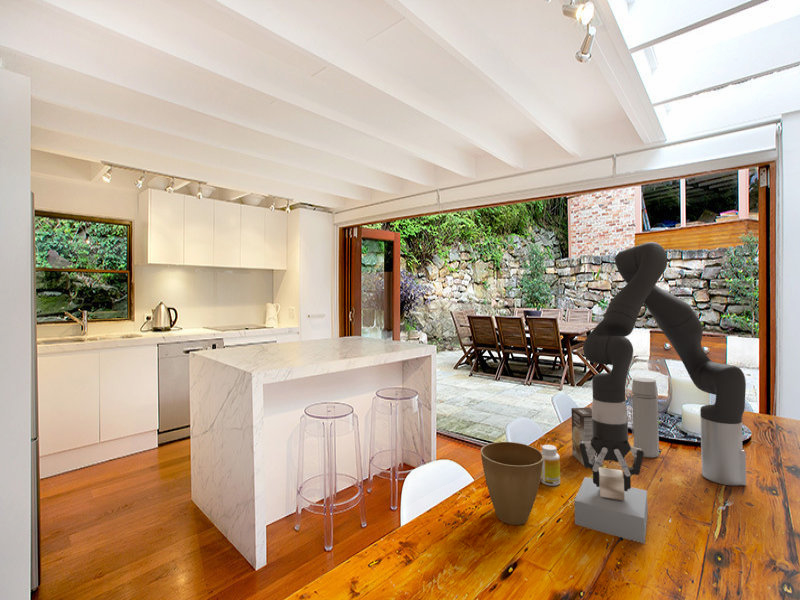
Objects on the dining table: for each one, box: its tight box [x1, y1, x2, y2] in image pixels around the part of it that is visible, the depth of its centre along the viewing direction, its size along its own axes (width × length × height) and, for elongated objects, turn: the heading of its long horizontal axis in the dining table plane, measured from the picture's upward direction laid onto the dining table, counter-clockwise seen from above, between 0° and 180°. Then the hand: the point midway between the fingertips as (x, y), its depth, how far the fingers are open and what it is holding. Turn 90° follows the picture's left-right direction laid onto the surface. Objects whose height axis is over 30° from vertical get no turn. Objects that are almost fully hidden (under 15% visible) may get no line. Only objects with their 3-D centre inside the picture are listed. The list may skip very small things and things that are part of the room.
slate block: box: [574, 476, 649, 545], centre depth 94 cm, size 14×14×6 cm
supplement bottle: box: [540, 444, 561, 487], centre depth 113 cm, size 6×6×10 cm
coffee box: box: [570, 407, 604, 467], centre depth 126 cm, size 9×6×16 cm
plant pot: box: [480, 441, 544, 526], centre depth 96 cm, size 15×15×16 cm
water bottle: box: [627, 377, 660, 459], centre depth 130 cm, size 9×8×25 cm
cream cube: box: [599, 466, 625, 501], centre depth 94 cm, size 5×5×5 cm
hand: (611, 487), depth 94 cm, fingers open, 5 cm apart
